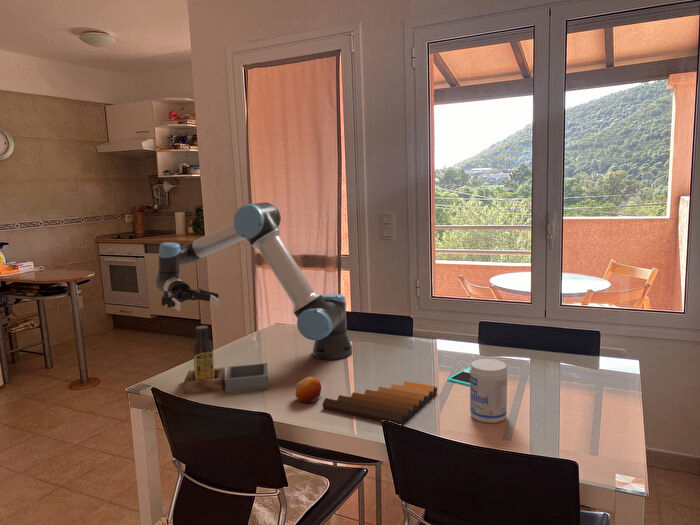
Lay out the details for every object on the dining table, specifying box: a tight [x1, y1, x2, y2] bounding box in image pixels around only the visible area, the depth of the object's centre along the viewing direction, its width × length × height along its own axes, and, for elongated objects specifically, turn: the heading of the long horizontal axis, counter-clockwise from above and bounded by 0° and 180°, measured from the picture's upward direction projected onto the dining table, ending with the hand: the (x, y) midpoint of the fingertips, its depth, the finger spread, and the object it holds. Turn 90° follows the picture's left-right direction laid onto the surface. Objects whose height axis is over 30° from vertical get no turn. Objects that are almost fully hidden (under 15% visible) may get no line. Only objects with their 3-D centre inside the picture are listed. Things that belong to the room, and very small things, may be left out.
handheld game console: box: [447, 366, 471, 387], centre depth 173 cm, size 10×16×1 cm, turn 137°
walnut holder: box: [182, 366, 226, 395], centre depth 176 cm, size 12×12×4 cm
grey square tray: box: [224, 362, 269, 394], centre depth 175 cm, size 13×13×4 cm
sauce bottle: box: [193, 325, 215, 380], centre depth 175 cm, size 7×6×20 cm
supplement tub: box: [469, 358, 508, 424], centre depth 142 cm, size 10×10×15 cm
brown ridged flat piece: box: [321, 381, 438, 426], centre depth 157 cm, size 25×3×25 cm
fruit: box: [295, 376, 322, 404], centre depth 160 cm, size 8×8×8 cm
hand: (199, 305), depth 179 cm, fingers open, 13 cm apart
